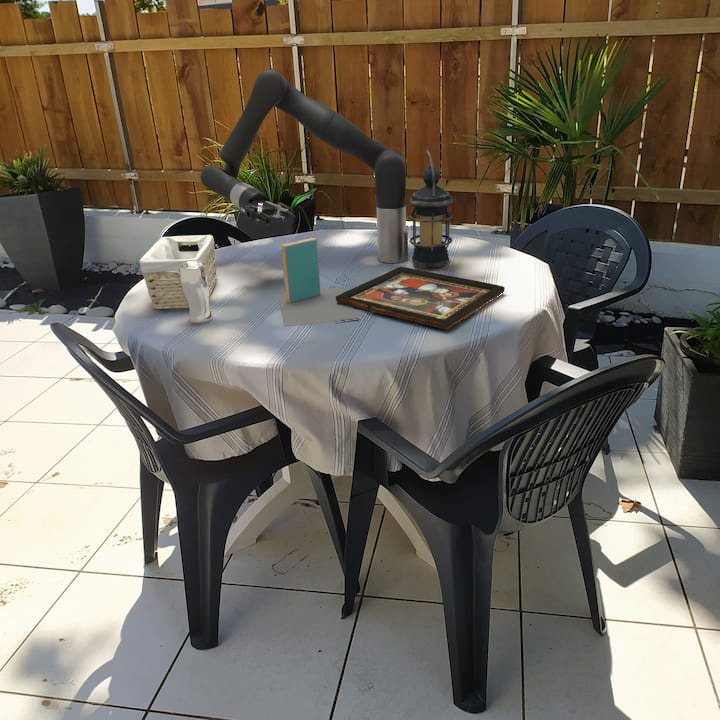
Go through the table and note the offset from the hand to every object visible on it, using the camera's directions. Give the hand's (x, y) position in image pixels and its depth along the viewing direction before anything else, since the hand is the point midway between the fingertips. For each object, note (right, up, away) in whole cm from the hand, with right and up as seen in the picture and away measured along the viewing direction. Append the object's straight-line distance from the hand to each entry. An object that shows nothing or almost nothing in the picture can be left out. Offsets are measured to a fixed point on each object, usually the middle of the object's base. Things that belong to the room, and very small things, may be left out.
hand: (282, 220), depth 182 cm
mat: (+10, -25, -6) cm, 27 cm away
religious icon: (+38, -22, -4) cm, 44 cm away
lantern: (+44, -9, +23) cm, 50 cm away
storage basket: (-29, -20, +7) cm, 36 cm away
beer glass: (-20, -28, -10) cm, 36 cm away
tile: (+6, -22, 0) cm, 22 cm away
